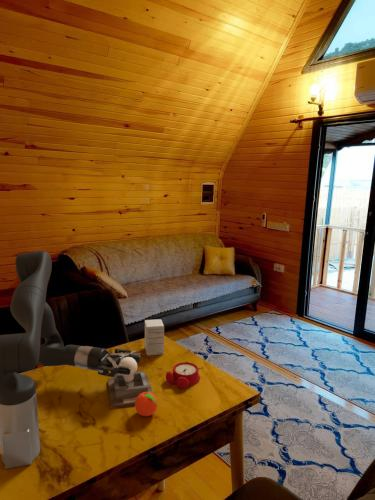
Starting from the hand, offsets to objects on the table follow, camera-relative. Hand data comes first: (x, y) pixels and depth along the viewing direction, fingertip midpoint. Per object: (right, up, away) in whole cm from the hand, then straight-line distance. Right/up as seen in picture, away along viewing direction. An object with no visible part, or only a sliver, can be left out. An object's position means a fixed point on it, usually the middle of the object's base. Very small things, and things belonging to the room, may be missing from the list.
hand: (135, 365), depth 124 cm
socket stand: (-2, -10, +2) cm, 10 cm away
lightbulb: (-2, -9, +2) cm, 9 cm away
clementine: (+5, -12, -9) cm, 16 cm away
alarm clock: (+16, -9, +10) cm, 21 cm away
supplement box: (+3, -4, +31) cm, 32 cm away
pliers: (-8, -6, +23) cm, 26 cm away
